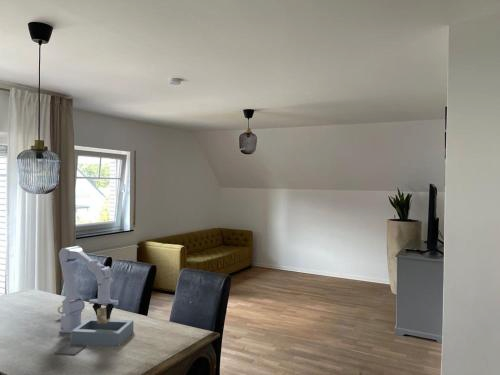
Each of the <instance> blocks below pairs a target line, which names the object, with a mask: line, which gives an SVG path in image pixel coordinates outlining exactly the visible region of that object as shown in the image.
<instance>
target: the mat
mask: <svg viewBox="0 0 500 375" xmlns="http://www.w3.org/2000/svg"><path fill="white" fill-rule="evenodd" d="M86 347H87V344H72V343H66V344H64V345H63V346H62V347H61V348H58V349H57V350H56V351H55V352H53V355H60V356H61V355H62V356H76V355H78V353H80V352H81V351H82V350H84V349H85V348H86Z"/></svg>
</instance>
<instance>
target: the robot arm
mask: <svg viewBox="0 0 500 375" xmlns="http://www.w3.org/2000/svg"><path fill="white" fill-rule="evenodd" d="M58 258H59V263H60V268H61V273H62V274H61V275H62V279H63V286H64V289H65V294H66V295H65V298H64V299H62V301H63V303H62V305H63V308H62V307H61V308H62V309H63V312H64V314H63V315H62V314H61V317H60V331H59V333H68V334H71V331H72V330H73V329H75V328H76V327H78V326H79V325H81V324H82V313H83V310H84V309H85V308H86V307H85V301H84V299H83V296H82V295H80V294H79V293H78V289H77V284H76V278H75V273H74V267H73V264H74V263H75V262H76V261H77V260H79V262H82V263H83V264H85V265H86V268H87V270H89V271H90V272H91V273H93V274H94V275H95V278H96V283H97V298H91V299H89V300H88V304H89V305H92V308H93V311H94V312H95V313H94V314H95V315H96V317H97V309H98V308H100V307H101V306H103V305H106V306H105V307H106V311H107V319H109V318H110V319H111V314H112V311H113V309H114V307H115V306H118V305H119V300H118V299H117V300H116V299H111V297H110V296H111V295H110V294H111V293H110V292H111V278H112V277H113V273H114V272H113V269H112V267H110V266H105V265H104V264H102V263H101V262H99V260H98V259H91V258H90V256H89V255H87V254H86V253H85V252H84V250H83V248H82V247H81V246H80V245H75V246H68V247H62V248H61V249H60V251H59V252H58ZM72 300H74V301H72Z"/></svg>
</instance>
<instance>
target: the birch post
mask: <svg viewBox="0 0 500 375" xmlns="http://www.w3.org/2000/svg"><path fill="white" fill-rule="evenodd" d="M96 319H97V323H105V324H106V323H107V322H108V321H110V319H111V317H110V318H109V319H107V311H106V306H103V305H101V307H100V308H98V309H97V316H96Z"/></svg>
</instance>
